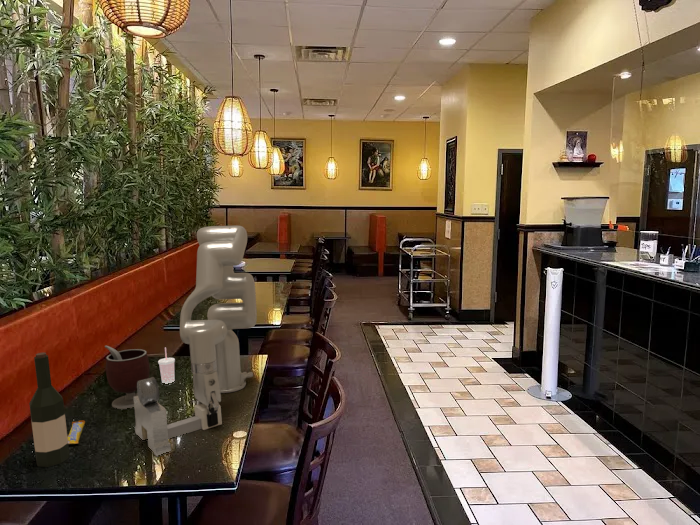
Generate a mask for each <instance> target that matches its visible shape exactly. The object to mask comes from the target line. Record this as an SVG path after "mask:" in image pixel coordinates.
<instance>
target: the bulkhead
mask: <svg viewBox="0 0 700 525" xmlns="http://www.w3.org/2000/svg"><path fill="white" fill-rule="evenodd" d="M136 393H138V396H135V397H133V398H134V408H133V409H134V416H135V417H134V418H135V419H134V420H135V425H134V431H135V432H134V433H135V435H138V436H139V437H140V438H141V439H142V440H145V439H148V440H147V446H148V447H149V448H150V449H151V450H152V451H153V452H154V453H153V452H152V451H151V450H150V449H149V448H148V449H149V450H150V451H151V452H152V453H153V454H154V456H156V457H159V456H158V455H160V456H162V455H161V454H163V453H166V452H169V451H171V452H172V446H171V442H170V441H169V440H168V429H167V425H168V419H167V409H166V408H165V406H163V405H161V404H160V403H159V400H160V389H159V385H158V382H157V379H156V378H155V377H154V376H151V377H149V378H148V379H144V380H140V381H138V382H137V391H136ZM138 436H137V437H138ZM139 437H138V438H139ZM140 438H139V439H140ZM141 439H140V440H141ZM142 440H141V441H142ZM169 453H170V452H169ZM166 454H167V453H166ZM163 455H164V454H163Z"/></svg>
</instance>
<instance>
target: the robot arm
mask: <svg viewBox="0 0 700 525" xmlns="http://www.w3.org/2000/svg"><path fill="white" fill-rule="evenodd" d="M196 239H197V244H198V245H199V246H198V248H197V252H196V277H195V280H196V281H195V288H194V290H193V291H191V294H189V295H188V297H187V298H186V300H185V301H184V303H183V305H182V307H181V311H180V316H179V317H180V318H179V336H180V340H181V341H182V343H184V344H187V345H189V355H190V367H191V374H192V375H193V376H192V381H193V386H192V387H193V395H194V398H195V400H196V402H197V403H196V405H198V404H202V403H203V404H204V405H206V407H207V411H208V414H207V424H208V427H211V426H214V425H217V424H218V414H217V413H218V408H219V405H220V403H221V401H222V394H225V393H226V394H228V393H234V392H238V391H240V390H242V389H244V388H245V387H246V384H247V382H246V380H247V379H248V378H249V379H250V378H253V377H254V372H253V371H249V372H247V371H243V372H242V371H241V356H240V354H241V353H240V342H239V338H238V336H237V334H236V333H235V332H234V331H233V330H238V329H239V330H240V329H243V330H244V329H251V328H253V327H255V325H256V324H257V317H258V316H257V314H258V313H257V295H256V282H255V280H254V276H253V275H252V274H251V273H249V272H235V271H234V267H236V266H239V265H240V264H241V263H242V261H243V259H244V255H245V251H246V247H247V243H248V232H247V229H246V228H245V227H244V226H242V225H212V226H205V227H201V228H199V229H198V230H197V232H196ZM211 297H212V298H213V299H215V300H241V301H242V302H221V303H219V302H218V303H216V304H213V305H211V306H210V307H209V308H208V310H207V319H198V320H197V319H196V320H194V319H192V314H193V311H194V309H195V308H196V307H197V306H198V305H199V304H200V303H201V302H203V301H204V300H207V299H208V298H211ZM211 401H212V403H210V404H209V402H211ZM211 405H213V407H212V408H211V409H210V406H211ZM217 426H218V425H217ZM214 427H215V426H214ZM211 428H212V427H211Z"/></svg>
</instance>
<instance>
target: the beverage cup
mask: <svg viewBox="0 0 700 525" xmlns="http://www.w3.org/2000/svg"><path fill="white" fill-rule="evenodd" d="M164 355H165V357H164V358H160V359H159V360H158V361H157V363H158V365H159V371H160V377H161V384H162V383H165V384H168V383H172V382H174V381H175V380H176V379H175V362H176V359H175V358H174V357H168V355H167V347H164ZM175 382H176V381H175ZM175 382H174V383H175Z"/></svg>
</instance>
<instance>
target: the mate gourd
mask: <svg viewBox="0 0 700 525" xmlns="http://www.w3.org/2000/svg"><path fill="white" fill-rule="evenodd" d="M104 348H105V349H107V350H108V351H109V352H110V354H109V355H107V356H106V357H105V358H106V362H105V373H106V374H105V375H106V379H107V383H108V385H109V387H110V388H111V389H113V390H114V391H115V392H117V393H123V394H124V393H125V395H122V396H120V397H118V398H115V399H114V400H112V401H111V406H112V408H114V409H116V408H117V410H128V409H127V408H130V409H133V408H132V407H134V398H133V397H135V396H138V393H137V382H138V381H140V380H144V379H148V378H150V370H151V369H150V361H149V357H148V356H149V355H148V354H147V350H145V349H141V348H137V349H136V348H134V349H133V348H132V349H124V350H119V351H118V350H116V348H113V347H111V346H109V345H104Z"/></svg>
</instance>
